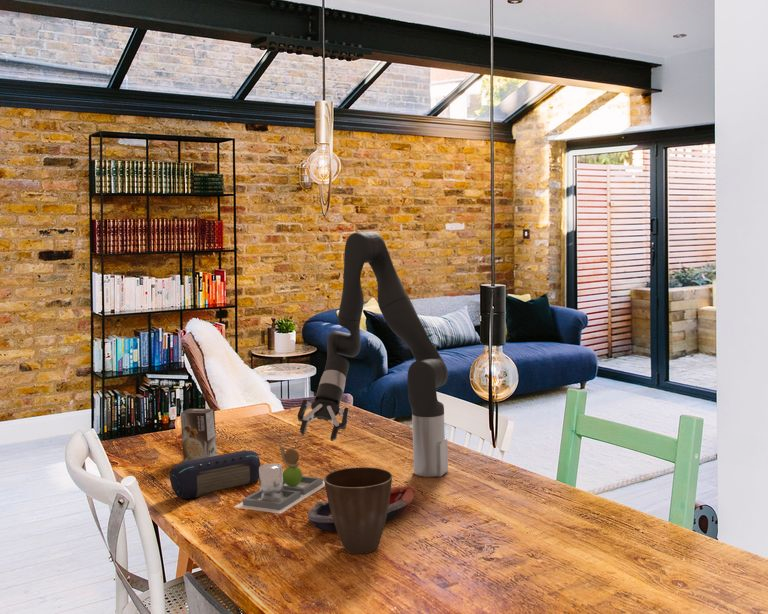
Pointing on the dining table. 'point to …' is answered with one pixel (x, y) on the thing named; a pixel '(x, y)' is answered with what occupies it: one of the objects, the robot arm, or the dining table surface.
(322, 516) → the dish
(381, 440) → the dining table surface
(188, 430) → the coffee box
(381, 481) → the plant pot
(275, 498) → the silver metal cylinder
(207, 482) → the portable speaker
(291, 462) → the snail figurine
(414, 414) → the robot arm
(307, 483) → the compartment tray
